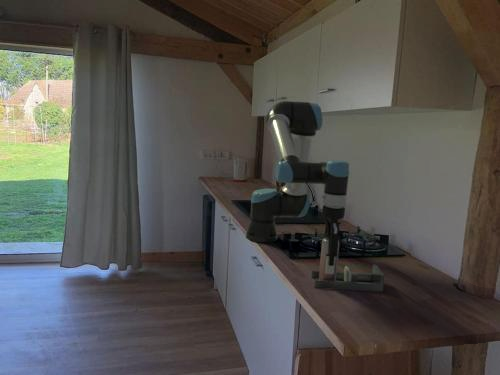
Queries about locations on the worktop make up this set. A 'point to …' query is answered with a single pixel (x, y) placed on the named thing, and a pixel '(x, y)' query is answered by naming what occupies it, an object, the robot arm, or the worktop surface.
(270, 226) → the robot arm
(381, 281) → the lane
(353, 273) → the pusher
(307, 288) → the worktop surface
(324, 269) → the beverage can
